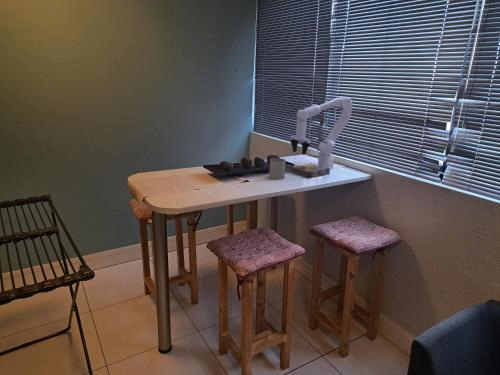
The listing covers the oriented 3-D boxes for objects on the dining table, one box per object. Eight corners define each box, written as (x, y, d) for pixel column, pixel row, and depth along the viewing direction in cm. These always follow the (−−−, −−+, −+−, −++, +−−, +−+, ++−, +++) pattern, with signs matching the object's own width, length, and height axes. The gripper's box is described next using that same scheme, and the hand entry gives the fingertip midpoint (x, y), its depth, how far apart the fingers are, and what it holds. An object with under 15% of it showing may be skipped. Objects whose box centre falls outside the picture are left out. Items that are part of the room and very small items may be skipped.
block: (299, 173, 197) (299, 164, 195) (309, 171, 202) (310, 163, 201) (304, 175, 194) (305, 166, 192) (315, 173, 199) (316, 164, 197)
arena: (300, 166, 215) (300, 160, 214) (329, 175, 198) (329, 168, 197) (280, 170, 205) (280, 163, 204) (309, 179, 188) (309, 172, 187)
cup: (284, 179, 186) (286, 161, 182) (269, 179, 186) (270, 161, 183) (283, 175, 194) (284, 158, 190) (269, 175, 194) (270, 157, 191)
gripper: (287, 129, 206) (286, 151, 211) (305, 132, 196) (303, 156, 200) (295, 128, 211) (294, 150, 215) (313, 132, 200) (311, 154, 204)
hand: (299, 153), depth 208 cm, fingers open, 7 cm apart
